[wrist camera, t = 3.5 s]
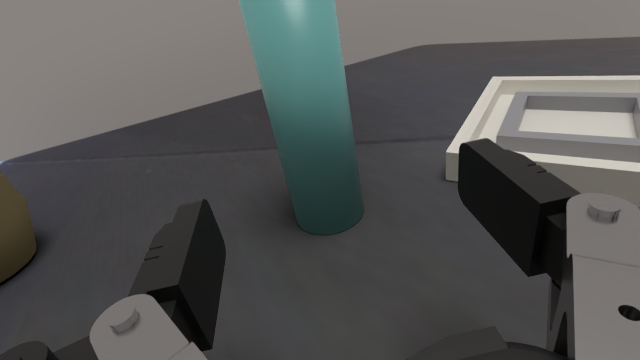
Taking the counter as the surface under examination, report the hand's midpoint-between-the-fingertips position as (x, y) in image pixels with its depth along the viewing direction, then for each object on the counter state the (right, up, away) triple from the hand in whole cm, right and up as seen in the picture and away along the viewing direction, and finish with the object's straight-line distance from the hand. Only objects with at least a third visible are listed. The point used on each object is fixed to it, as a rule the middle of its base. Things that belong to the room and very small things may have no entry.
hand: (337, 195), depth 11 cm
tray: (+18, +4, +15) cm, 24 cm away
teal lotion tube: (0, -2, +13) cm, 13 cm away
